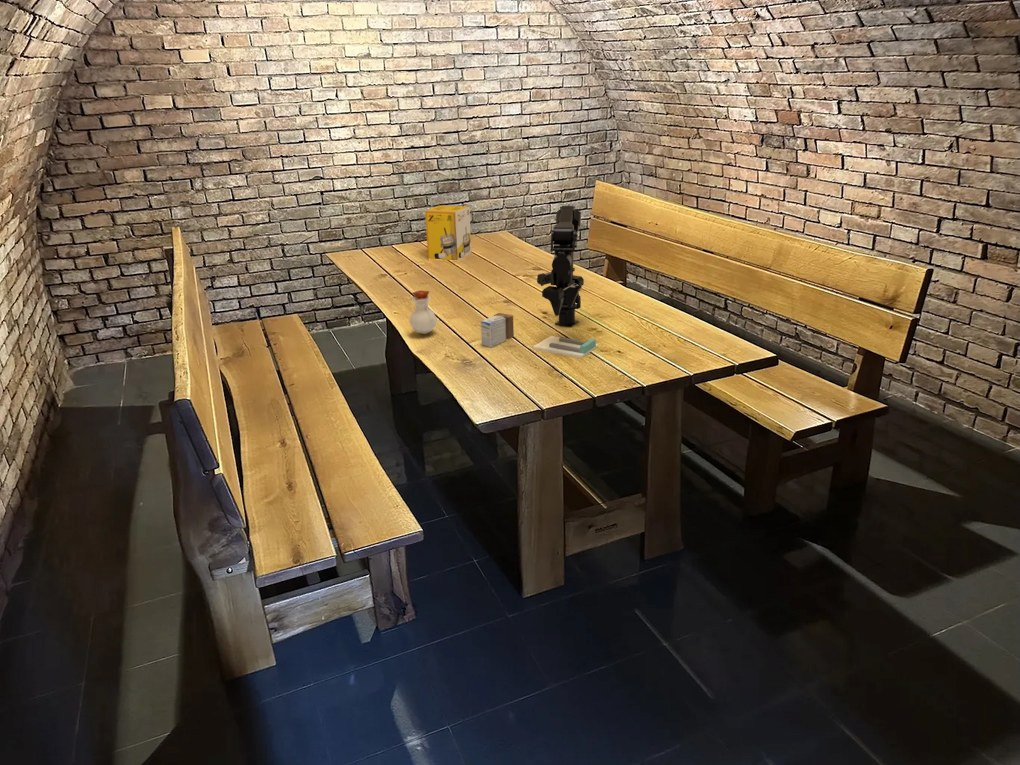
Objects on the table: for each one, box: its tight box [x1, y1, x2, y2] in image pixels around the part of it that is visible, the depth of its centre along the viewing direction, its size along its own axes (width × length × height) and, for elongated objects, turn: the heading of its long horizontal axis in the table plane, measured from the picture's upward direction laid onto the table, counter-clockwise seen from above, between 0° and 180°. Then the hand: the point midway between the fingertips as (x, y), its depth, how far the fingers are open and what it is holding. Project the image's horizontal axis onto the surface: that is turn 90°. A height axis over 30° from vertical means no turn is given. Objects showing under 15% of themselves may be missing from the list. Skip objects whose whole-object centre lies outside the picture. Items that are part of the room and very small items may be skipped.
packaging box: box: [424, 205, 472, 260], centre depth 359 cm, size 16×16×25 cm
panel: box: [493, 312, 515, 340], centre depth 252 cm, size 3×8×6 cm
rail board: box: [532, 335, 599, 359], centre depth 241 cm, size 12×18×4 cm, turn 57°
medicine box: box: [480, 315, 507, 348], centre depth 247 cm, size 8×4×9 cm, turn 141°
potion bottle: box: [409, 290, 437, 335], centre depth 256 cm, size 9×10×15 cm
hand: (563, 311), depth 241 cm, fingers open, 9 cm apart
